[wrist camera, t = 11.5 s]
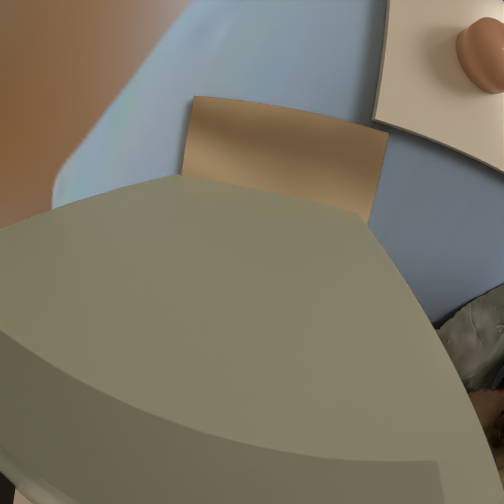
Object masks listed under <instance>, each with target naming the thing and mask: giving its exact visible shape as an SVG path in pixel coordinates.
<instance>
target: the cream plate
mask: <svg viewBox="0 0 504 504" xmlns="http://www.w3.org/2000/svg"><path fill="white" fill-rule="evenodd" d="M371 121H375V122H378V123H381V124H384V125H388V126H391V127H394V128H397V129H400V130H403V131H406V132H408V133H411V134H414V135H417V136H420V137H422V138H425V139H428V140H430V141H433V142H435V143H438V144H440V145H443V146H445V147H448V148H450V149H452V150H455V151H457V152H459V153H462V154H464V155H466V156H468V157H470V158H473V159H475V160H477V161H479V162H481V163H483V164H485V165H487V166H489V167H491V168H493V169H495V170H497V171H499V172H501V173H503V174H504V2H503V1H501V0H387V8H386V20H385V30H384V40H383V48H382V56H381V64H380V71H379V78H378V85H377V91H376V97H375V103H374V109H373V114H372V120H371Z"/></svg>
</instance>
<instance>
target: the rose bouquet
mask: <svg viewBox="0 0 504 504" xmlns="http://www.w3.org/2000/svg"><path fill="white" fill-rule="evenodd" d="M435 331H436V333H437V335H438V337H439V339H440V340H441V342H442V344H443V346H444V348H445V350H446V351H447V353H448V355H449V357H450V359H451V361H452V363H453V365H454V367H455V369H456V371H457V373H458V375H459V377H460V379H461V381H462V383H463V385H464V387H465V390H466V392H467V394H468V396H469V398H470V400H471V403H472V405H473V407H474V410H475V412H476V414H477V417H478V419H479V421H480V424H481V426H482V429H483V431H484V434H485V436H486V437H487V439H488V440H489V441H490V442H491V444H492V447H493V450H494V454H495V459H496V465H497V470H498V473H499V477H500V480H501V483H502V487H503V490H504V379H503V380H502V381H501V382H500V383H499V384H498V385H497V386H496V389H495V390H494V389H491V387H492V384H493V381H494V378H495V376H496V374H497V373H498V371H499V370H500V368H501V367H502V365H503V363H504V284H502V285H500V286H499V287H497V288H495V289H492V290H490V291H489V292H488V294H485V295H483V296H480V297H477V299H474V300H473V301H472V302H471V303H468V304H467V305H466V307H465V306H464V307H463V308H461V310H460V311H457V313H456V314H455V316H454V317H453V319H452V317H451V318H450V319H449V320H448V321H447V322H445V323H444V325H443V326H441V328H440V329H436V330H435Z"/></svg>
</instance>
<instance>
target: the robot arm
mask: <svg viewBox="0 0 504 504" xmlns="http://www.w3.org/2000/svg"><path fill="white" fill-rule="evenodd" d="M486 439H487V437H486ZM487 442H488V444H489V447H490V450H491V453H492V455H493V458H494V461H495V464H496V459H495V454H494V450H493V447H492V444H491V442H490V441H489V440H488V439H487ZM496 467H497V465H496ZM15 487H16V486H15V485H14V484H13V483H12V482H11V481H9V480H8V479H7V478H6V477H5V476H4V475H3V474H2V473H1V472H0V504H13V500H14V493H15Z"/></svg>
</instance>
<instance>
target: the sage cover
mask: <svg viewBox="0 0 504 504" xmlns="http://www.w3.org/2000/svg"><path fill="white" fill-rule="evenodd" d="M0 472H1V473H2V474H3V475H4V476H5V477H6V478H7V479H8V480H9V481H11V482H12V483H13V484H14V485H15V486H16V487H15V488H16V489H17V490H18V491H19V492H20V493H21V494H22V495H24V496H25V497H26V498H27V499H28V500H30V501H31V502H32V503H33V504H504V490H503V487H502V483H501V480H500V477H499V473H498V470H497V467H496V464H495V461H494V458H493V455H492V453H491V450H490V447H489V444H488V442H487V439H486V436H485V434H484V431H483V429H482V426H481V424H480V421H479V419H478V417H477V414H476V412H475V410H474V407H473V405H472V403H471V400H470V398H469V396H468V394H467V392H466V390H465V387H464V385H463V383H462V381H461V379H460V377H459V375H458V373H457V371H456V369H455V367H454V365H453V363H452V361H451V359H450V357H449V355H448V353H447V351H446V350H445V348H444V346H443V344H442V342H441V340H440V339H439V337H438V335H437V333H436V331H435V330H434V328H433V326H432V324H431V323H430V321H429V319H428V317H427V316H426V314H425V312H424V311H423V309H422V307H421V306H420V304H419V302H418V301H417V299H416V297H415V296H414V294H413V292H412V291H411V289H410V288H409V286H408V285H407V283H406V281H405V280H404V278H403V277H402V275H401V274H400V272H399V271H398V269H397V268H396V266H395V265H394V263H393V262H392V260H391V259H390V257H389V256H388V254H387V253H386V251H385V250H384V248H383V247H382V245H381V244H380V243H379V241H378V240H377V238H376V237H375V236H374V234H373V233H372V231H371V230H370V229H369V227H368V226H367V224H366V223H365V222H364V220H363V219H362V218H361V216H360V215H359V214H358V213H356V212H352V211H349V210H345V209H341V208H337V207H333V206H329V205H325V204H321V203H316V202H312V201H308V200H304V199H299V198H295V197H291V196H286V195H282V194H277V193H273V192H268V191H263V190H258V189H254V188H249V187H244V186H239V185H233V184H228V183H223V182H218V181H212V180H207V179H201V178H195V177H190V176H184V175H178V174H175V175H170V176H166V177H162V178H158V179H154V180H150V181H146V182H142V183H138V184H134V185H131V186H127V187H123V188H120V189H116V190H113V191H109V192H106V193H102V194H99V195H96V196H92V197H89V198H86V199H83V200H79V201H76V202H73V203H70V204H67V205H64V206H61V207H58V208H55V209H52V210H49V211H47V212H44V213H41V214H38V215H35V216H33V217H30V218H27V219H25V220H22V221H19V222H17V223H14V224H12V225H9V226H7V227H4V228H2V229H0Z"/></svg>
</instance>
